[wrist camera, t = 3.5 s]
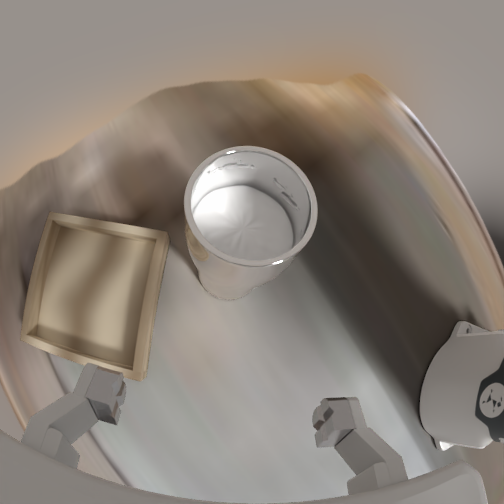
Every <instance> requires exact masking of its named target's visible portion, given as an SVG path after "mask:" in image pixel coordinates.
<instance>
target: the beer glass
mask: <svg viewBox="0 0 504 504" xmlns="http://www.w3.org/2000/svg"><path fill="white" fill-rule="evenodd" d="M184 210H185V211H184V230H185V239H186V244H187V247H188V251H189V254H190V256H191V259H192V261H193V262H194V264H195V266H196V267H197V271H198V277H199V280H200V282H201V284H202V286H203V287H204V288H205V289H206V290H207V291H208V292H209V293H210V294H211V295H213V296H215V297H217V298H220V299H224V300H235V299H239V298H242V297H244V296H246V295H247V294H249V293H250V292H251V291H252V290H253V289H254V288H256V287H259V286H262V285H264V284H266V283H268V282H269V281H271V280H272V279H274V278H275V277H277V276H278V275H279V274H281V273H282V272H283V271H284V270H285V269H286V268H287V267H288V266H289V265H290V264H291V262H292V261H293V260H294V259H295V257H296V256H297V255H298V253H299V252H300V251H301V250H302V249H303V248H304V247H305V246H306V244H307V243H308V242H309V240H310V238H311V237H312V235H313V232H314V230H315V227H316V223H317V216H318V206H317V199H316V195H315V192H314V190H313V187H312V185H311V183H310V181H309V180H308V178H307V177H306V175H305V174H304V173H303V172H302V170H301V169H300V168H299V167H298V166H297V165H296V164H294V163H293V162H292V161H291V160H289V159H288V158H286V157H285V156H283V155H281V154H279V153H277V152H275V151H272V150H269V149H266V148H262V147H256V146H237V147H231V148H227V149H224V150H221V151H219V152H217V153H215V154H213V155H211V156H209V157H208V158H207V159H205V160H204V161H203V162H202V163H201V164H200V165H199V166H198V167H197V168H196V169H195V171H194V172H193V174H192V175H191V177H190V179H189V181H188V184H187V186H186V190H185V195H184Z"/></svg>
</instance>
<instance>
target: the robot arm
mask: <svg viewBox="0 0 504 504" xmlns="http://www.w3.org/2000/svg"><path fill="white" fill-rule="evenodd" d="M123 378H124V376H123V373H122V372H119V371H115V370H111V369H108V368H104V367H101V366H99V365H95V364H92V363H87V364H86V365H85V367H84V369H83V371H82V373H81V376H80V378H79V380H78V382H77V385H76V387H75V389H74V392H73V393H71V392H69V393H68V394H66V395H65V396H63V397H62V398H60V399H58V400H57V401H55V402H54V403H52V404H51V405H49V406H47V407H46V408H44V409H43V410H41V411H39V412H38V413H36V414H35V415H33V416H31V418H30V420H29V423H28V425H27V427H26V430H25V432H24V435H23V438H22V440H21V442H20V441H18V440H16V439H15V438H13V437H11V436H10V435H8V434H7V433H5V432H3V431H2V430H0V504H246V503H224V502H212V501H202V500H194V499H186V498H180V497H174V496H168V495H163V494H158V493H153V492H149V491H144V490H140V489H136V488H132V487H129V486H125V485H121V484H118V483H115V482H112V481H108V480H105V479H102V478H99V477H96V476H94V475H91V474H88V473H85V472H83V471H80V470H78V469H77V465H78V462H79V458H80V455H79V453H78V452H77V451H76V450H75V448H74V447H73V446H72V445H71V444H72V443H74V442H75V441H76V440H77V439H78V438H79V437H81V436H82V435H83V434H84V433H85V432H86V431H88V430H89V429H90V428H91V427H92V426H93V425H95V424H96V423H97V422H98V420H100V421H104V422H107V423H111V424H114V425H117V424H118V421H119V417H120V414H121V411H120V408H119V406H121V405H122V404H124V400H125V396H126V384H125V383H124V382H123ZM420 417H421V421H422V425H423V427H424V429H425V430H426V431H427V432H428V433H429V434H430V435H431V436H432V437H433V438H434V440H435V444H436V447H437V449H438V450H446V449H448V448H450V447H451V446H453V445H459V446H465V447H471V448H478V449H482V448H484V447H485V446H487V445H488V444H490V443H491V442H492V441H493V440H494V441H496V442H501V443H503V444H504V330H498V331H493V332H489V331H487V330H485V329H482V328H480V327H478V326H475V325H473V324H471V323H468V322H466V321H459V322H457V324H456V325H455V327H454V330H453V332H452V334H451V337H450V338H449V340H448V341H447V342H446V343H445V344H444V345H443V346H442V347H441V348H440V350H439V351H438V352H437V354H436V355H435V357H434V358H433V360H432V362H431V364H430V366H429V368H428V371H427V373H426V376H425V379H424V382H423V386H422V390H421V396H420ZM312 421H313V427H314V428H315V429H316V430H317V432H316V434H315V440H316V445H317V448H318V447H334V448H335V449H336V451H337V452H338V453H339V454H340V456H341V457H342V458H343V459H344V461H345V462H346V463H347V464H348V465H349V467H350V468H351V469H352V470H353V471H354V473H355V474H356V476H355V477H353V478H352V479H350V480H349V481H348V482H347V487H348V493H349V495H347V496H341V497H335V498H329V499H321V500H313V501H303V502H291V503H269V504H488V502H487V497H486V492H485V488H484V484H483V481H482V478H481V476H480V474H479V472H478V471H477V470H476V469H475V468H473V467H472V466H471V465H469V464H468V463H466V462H465V461H463V460H459V461H456V462H453V463H451V464H449V465H446V466H444V467H442V468H439V469H437V470H434V471H432V472H429V473H426V474H424V475H421V476H418V477H415V478H412V479H409V480H408V477H407V474H406V470H405V467H404V463H403V460H402V457H401V456H400V455H399V454H398V453H397V452H396V451H395V450H393V449H392V448H391V447H390V446H389V445H388V444H387V443H386V442H385V441H384V440H383V439H381V438H380V437H379V436H378V435H377V434H376V433H375V432H374V431H373V430H372V429H371V428H367V426H366V423H365V419H364V416H363V413H362V409H361V406H360V403H359V400H358V398H356V397H346V398H345V397H341V398H324V399H323V400H322V401H321V405H320V406H318V407H316V409H315V410H314V413H313V419H312Z"/></svg>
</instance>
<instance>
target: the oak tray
mask: <svg viewBox="0 0 504 504" xmlns="http://www.w3.org/2000/svg"><path fill="white" fill-rule="evenodd" d="M169 245H170V238H169V235H168V232H166V231H160V230H155V229H149V228H143V227H137V226H132V225H126V224H120V223H114V222H108V221H102V220H97V219H91V218H85V217H79V216H73V215H67V214H61V213H55V212H49V215H48V218H47V221H46V224H45V227H44V230H43V233H42V236H41V239H40V243H39V246H38V250H37V253H36V257H35V261H34V265H33V269H32V273H31V278H30V282H29V287H28V292H27V297H26V303H25V308H24V315H23V321H22V329H21V338H20V340H21V341H23V342H26V343H28V344H30V345H32V346H35V347H37V348H39V349H42V350H44V351H47V352H49V353H52V354H54V355H57V356H60V357H62V358H65V359H68V360H70V361H73V362H76V363H79V364H82V365H86V364H87V363H92V364H95V365H99V366H101V367H104V368H108V369H111V370H115V371H119V372H122V373H123V376H124V377H125V378H129V379H132V380H136V381H142V380H143V379H145V378H146V377H147V369H148V361H149V354H150V347H151V340H152V334H153V327H154V321H155V315H156V309H157V304H158V298H159V293H160V288H161V283H162V278H163V273H164V268H165V263H166V259H167V254H168V250H169Z"/></svg>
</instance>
